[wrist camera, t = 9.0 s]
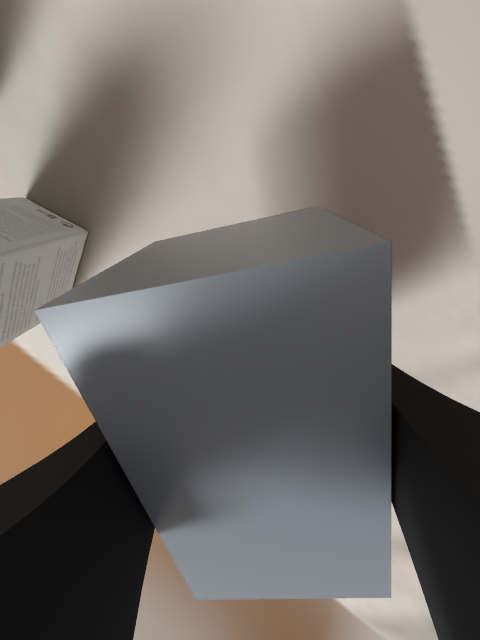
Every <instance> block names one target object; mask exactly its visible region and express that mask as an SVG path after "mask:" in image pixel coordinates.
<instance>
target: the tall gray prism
mask: <svg viewBox="0 0 480 640" xmlns="http://www.w3.org/2000/svg"><path fill="white" fill-rule="evenodd" d="M391 270H392V242H391V241H389V240H387V239H385V238H383V237H381V236H379V235H377V234H375V233H372V232H370V231H368V230H366V229H364V228H362V227H360V226H358V225H356V224H354V223H352V222H350V221H347V220H345V219H343V218H341V217H339V216H337V215H335V214H333V213H331V212H329V211H327V210H325V209H322V208H320V207H318V206H316V207H312V208H307V209H302V210H298V211H293V212H289V213H284V214H280V215H275V216H270V217H266V218H261V219H257V220H252V221H247V222H243V223H238V224H234V225H229V226H225V227H220V228H215V229H211V230H206V231H202V232H197V233H193V234H188V235H183V236H179V237H174V238H170V239H165V240H161V241H156V242H154V243H152V244H150V245H148V246H147V247H145V248H143V249H141V250H140V251H138V252H136V253H134V254H133V255H131V256H129V257H127V258H125V259H124V260H122V261H120V262H118V263H117V264H115V265H113V266H111V267H110V268H108V269H106V270H104V271H103V272H101V273H99V274H97V275H96V276H94V277H92V278H90V279H88V280H87V281H85V282H83V283H81V284H80V285H78V286H76V287H74V288H73V289H71V290H69V291H67V292H66V293H64V294H62V295H60V296H59V297H57V298H55V299H53V300H52V301H50V302H48V303H46V304H44V305H43V306H41V307H39V308H37V309H36V310H34V311H35V313H36V315H37V316H38V318H39V320H40V322H41V324H42V325H43V327H44V329H45V331H46V333H47V334H48V336H49V338H50V340H51V342H52V343H53V345H54V347H55V349H56V351H57V352H58V354H59V356H60V358H61V359H62V361H63V363H64V365H65V367H66V368H67V370H68V372H69V374H70V376H71V377H72V379H73V381H74V383H75V385H76V386H77V388H78V390H79V392H80V394H81V395H82V397H83V399H84V401H85V403H86V404H87V406H88V408H89V410H90V412H91V413H92V415H93V417H94V419H95V421H96V422H97V424H98V426H99V428H100V429H101V431H102V433H103V435H104V437H105V438H106V440H107V442H108V444H109V446H110V447H111V449H112V451H113V453H114V455H115V456H116V458H117V460H118V462H119V464H120V465H121V467H122V469H123V471H124V473H125V474H126V476H127V478H128V480H129V482H130V483H131V485H132V487H133V489H134V490H135V492H136V494H137V496H138V498H139V499H140V501H141V503H142V505H143V507H144V508H145V510H146V512H147V514H148V516H149V517H150V519H151V521H152V523H153V525H154V526H155V528H156V530H157V532H158V534H159V535H160V537H161V539H162V540H163V542H164V544H165V546H166V548H167V550H168V551H169V553H170V555H171V557H172V559H173V560H174V562H175V564H176V566H177V568H178V569H179V571H180V573H181V575H182V577H183V578H184V580H185V582H186V584H187V586H188V587H189V589H190V591H191V593H192V595H193V596H194V598H195V600H212V599H213V600H219V599H305V598H391Z"/></svg>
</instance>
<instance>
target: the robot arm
mask: <svg viewBox="0 0 480 640" xmlns="http://www.w3.org/2000/svg"><path fill="white" fill-rule="evenodd" d="M391 502H392V504H393V507H394V510H395V512H396V515H397V518H398V521H399V524H400V526H401V529H402V532H403V535H404V538H405V541H406V543H407V546H408V549H409V552H410V555H411V558H412V561H413V564H414V567H415V570H416V573H417V576H418V579H419V581H420V584H421V587H422V590H423V593H424V596H425V599H426V603H427V606H428V609H429V612H430V615H431V618H432V621H433V624H434V627H435V630H436V633H437V636H438V639H439V640H480V412H478V411H476V410H474V409H471V408H469V407H467V406H465V405H463V404H461V403H459V402H457V401H455V400H453V399H451V398H449V397H447V396H445V395H443V394H441V393H439V392H438V391H436V390H434V389H432V388H430V387H429V386H427V385H425V384H423V383H421V382H420V381H418V380H416V379H415V378H413V377H411V376H410V375H408V374H406V373H405V372H403V371H402V370H400V369H399V368H397V367H395V366H394V365H392V364H391ZM154 529H155V526H154V525H153V523H152V521H151V519H150V517H149V516H148V514H147V512H146V510H145V508H144V507H143V505H142V503H141V501H140V499H139V498H138V496H137V494H136V492H135V490H134V489H133V487H132V485H131V483H130V482H129V480H128V478H127V476H126V474H125V473H124V471H123V469H122V467H121V465H120V464H119V462H118V460H117V458H116V456H115V455H114V453H113V451H112V449H111V447H110V446H109V444H108V442H107V440H106V438H105V437H104V435H103V433H102V431H101V429H100V428H99V426H98V424H97V422H94V423H93V424H92V425H91V426H89V427H88V428H87V429H86V430H84V431H83V432H82V433H81V434H79V435H78V436H76V437H75V438H74V439H72V440H71V441H70V442H68V443H67V444H65V445H64V446H62V447H61V448H59V449H58V450H56V451H55V452H53V453H52V454H50V455H49V456H48V457H46V458H44V459H43V460H41V461H40V462H38V463H36V464H35V465H33V466H31V467H30V468H28V469H26V470H25V471H23V472H21V473H20V474H18V475H16V476H15V477H13V478H11V479H10V480H8V481H7V482H5V483H3V484H1V485H0V640H133V637H134V630H135V625H136V619H137V614H138V608H139V602H140V597H141V591H142V586H143V581H144V576H145V571H146V565H147V561H148V556H149V551H150V547H151V543H152V538H153V534H154Z"/></svg>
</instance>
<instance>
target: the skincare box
mask: <svg viewBox="0 0 480 640" xmlns="http://www.w3.org/2000/svg"><path fill="white" fill-rule="evenodd" d="M87 234H88V232H87V231H86V230H85V229H83V228H81V227H79V226H77V225H75V224H73V223H71V222H70V221H68V220H66V219H64V218H62V217H60V216H58V215H56V214H54V213H52V212H50V211H49V210H47V209H45V208H43V207H41V206H39V205H37V204H35V203H34V202H32V201H30V200H28V199H26V198H8V199H0V347H2V346H3V345H5V344H7V343H8V342H10V341H12V340H13V339H15V338H17V337H18V336H20V335H21V334H23V333H25V332H26V331H28V330H30V329H31V328H33V327H34V326H36V325H38V324H39V323H41V322H40V320H39V318H38V316H37V315H36V313H35V311H34V310H36V309H37V308H39V307H41V306H43V305H44V304H46V303H48V302H50V301H52V300H53V299H55V298H57V297H59V296H60V295H62V294H64V293H66V292H67V291H69V290H71V289H72V287H73V283H74V280H75V276H76V272H77V269H78V265H79V262H80V258H81V255H82V251H83V248H84V244H85V241H86V237H87Z"/></svg>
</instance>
